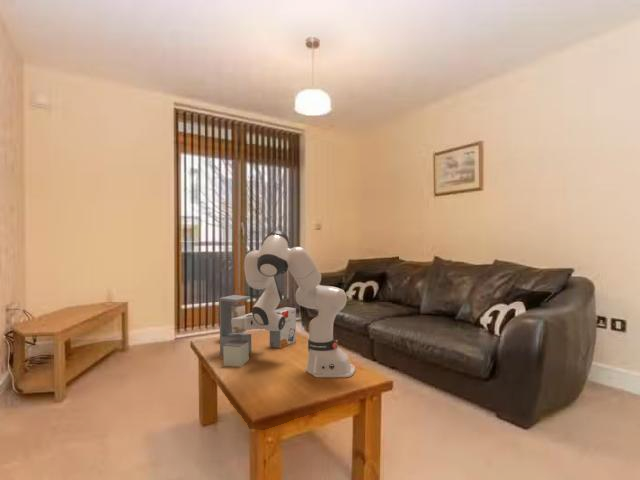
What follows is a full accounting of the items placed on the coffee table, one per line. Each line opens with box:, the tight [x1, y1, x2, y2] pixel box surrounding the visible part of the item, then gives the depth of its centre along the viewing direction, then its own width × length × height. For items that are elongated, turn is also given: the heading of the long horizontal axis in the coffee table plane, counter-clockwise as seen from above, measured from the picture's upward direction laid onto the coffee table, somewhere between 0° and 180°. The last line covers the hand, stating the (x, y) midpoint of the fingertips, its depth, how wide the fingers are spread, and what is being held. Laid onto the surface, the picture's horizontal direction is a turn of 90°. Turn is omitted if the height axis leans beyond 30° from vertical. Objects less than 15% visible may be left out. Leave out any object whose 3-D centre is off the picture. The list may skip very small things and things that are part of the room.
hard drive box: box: [269, 306, 297, 349], centre depth 206 cm, size 16×8×20 cm, turn 148°
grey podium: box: [218, 294, 252, 356], centre depth 192 cm, size 12×11×30 cm
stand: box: [223, 340, 250, 368], centre depth 177 cm, size 9×9×10 cm
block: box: [232, 303, 247, 334], centre depth 191 cm, size 5×5×14 cm
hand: (237, 317), depth 192 cm, fingers closed on block, 5 cm apart
